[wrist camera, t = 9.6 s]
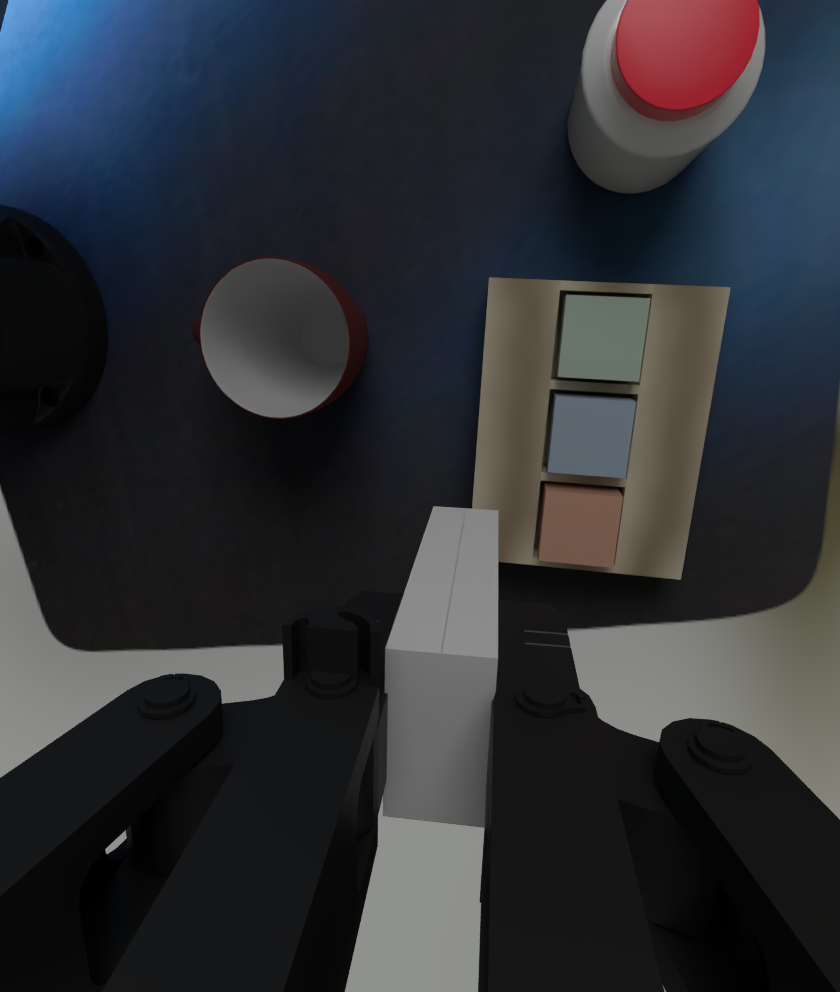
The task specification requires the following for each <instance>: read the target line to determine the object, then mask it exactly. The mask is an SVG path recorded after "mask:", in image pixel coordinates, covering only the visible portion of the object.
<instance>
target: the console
mask: <svg viewBox="0 0 840 992" xmlns="http://www.w3.org/2000/svg"><path fill="white" fill-rule="evenodd" d="M730 288H731V287H709V286H684V285H660V284H635V283H611V282H586V281H562V280H537V279H513V278H489V287H488V300H487V314H486V327H485V341H484V354H483V368H482V382H481V395H480V409H479V422H478V436H477V449H476V463H475V477H474V490H473V504H472V509H484V510H498V562H506V563H516V564H527V565H537V566H547V567H557V568H567V569H577V570H587V571H598V572H608V573H618V574H628V575H638V576H648V577H658V578H669V579H679V580H681V575H682V570H683V564H684V558H685V552H686V546H687V540H688V534H689V528H690V523H691V517H692V511H693V505H694V499H695V493H696V487H697V481H698V476H699V470H700V464H701V458H702V452H703V446H704V440H705V434H706V429H707V423H708V417H709V411H710V405H711V399H712V393H713V387H714V382H715V376H716V370H717V364H718V358H719V352H720V346H721V341H722V335H723V329H724V323H725V317H726V311H727V305H728V299H729V294H730ZM565 295H586V296H609V297H632V298H651V299H650V306H649V313H648V320H647V327H646V335H645V342H644V349H643V356H642V363H641V371H640V378H639V382H635V381H618V380H602V379H585V378H568V377H558V376H557V375H556V374H555V367H556V357H557V348H558V338H559V328H560V319H561V309H562V299H563V297H564V296H565ZM553 391H554V392H570V393H586V394H602V395H618V396H628V397H629V398H631V399H633V400H634V401H636V407H635V414H634V421H633V428H632V435H631V443H630V450H629V457H628V464H627V471H626V479H625V478H612V477H600V476H587V475H575V474H562V473H550V472H548V471H547V466H546V454H547V444H548V434H549V425H550V415H551V406H552V396H553ZM544 481H556V482H568V483H580V484H592V485H605V486H616V487H617V488H618V490H619V491H620V493H621V495H622V496H623V500H622V508H621V515H620V522H619V529H618V536H617V544H616V551H615V558H614V565H613V568H609V567H599V566H589V565H578V564H568V563H558V562H548V561H539V560H538V549H537V541H538V531H539V521H540V512H541V502H542V492H543V483H544Z"/></svg>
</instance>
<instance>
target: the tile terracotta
mask: <svg viewBox="0 0 840 992" xmlns="http://www.w3.org/2000/svg"><path fill="white" fill-rule="evenodd" d="M622 500H623V496H622V495H621V493H620V491H619V490H618V488H617V487H616V486H605V485H592V484H580V483H568V482H556V481H544V483H543V492H542V502H541V512H540V521H539V531H538V541H537V549H538V560H539V561H548V562H558V563H568V564H578V565H589V566H599V567H609V568H613V565H614V558H615V551H616V544H617V536H618V529H619V522H620V515H621V508H622Z"/></svg>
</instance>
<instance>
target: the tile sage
mask: <svg viewBox="0 0 840 992" xmlns="http://www.w3.org/2000/svg"><path fill="white" fill-rule="evenodd" d="M650 299H651V298H632V297H609V296H586V295H565V296H564V297H563V299H562V309H561V319H560V328H559V338H558V348H557V357H556V367H555V374H556V375H557V376H558V377H568V378H585V379H602V380H618V381H635V382H639V378H640V371H641V363H642V356H643V349H644V342H645V335H646V327H647V320H648V313H649V306H650Z"/></svg>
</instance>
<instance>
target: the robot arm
mask: <svg viewBox="0 0 840 992" xmlns="http://www.w3.org/2000/svg"><path fill="white" fill-rule="evenodd" d="M7 4H8V0H0V30H1V27H2V23H3V19H4V15H5V12H6V8H7ZM106 348H107V326H106V318H105V312H104V307H103V303H102V300H101V296H100V293H99V291H98V288H97V285H96V283H95V281H94V279H93V277H92V275H91V273H90V271H89V269H88V267H87V266H86V264H85V262H84V261H83V259H82V258H81V256H80V255H79V254H78V252H77V251H76V250H75V249H74V247H73V246H72V245H71V244H70V243H69V242H68V241H67V240H66V239H65V238H64V237H63V236H62V235H61V234H60V233H59V232H58V231H57V230H55V229H54V228H53V227H52V226H50V225H49V224H47V223H46V222H44V221H43V220H41V219H40V218H38V217H36V216H34V215H32V214H30V213H27V212H25V211H23V210H20V209H17V208H13V207H9V206H5V205H0V433H12V432H22V431H27V430H32V429H36V428H41V427H46V426H49V425H52V424H55V423H57V422H60V421H62V420H64V419H66V418H67V417H69V416H70V415H72V414H73V413H74V412H75V411H77V410H78V409H79V408H80V407H81V406H82V405H83V404H84V403H85V401H86V400H87V399H88V398H89V396H90V395H91V393H92V392H93V390H94V388H95V386H96V385H97V383H98V380H99V378H100V375H101V372H102V369H103V366H104V361H105V356H106ZM282 633H283V658H284V659H283V660H284V680H283V682H282V684H281V686H280V688H279V689H278V691H277V692H276V694H275V696H272V697H268V698H263V699H259V700H253V701H243V702H233V703H225V704H222V702H221V690H220V689H219V687H218V686H217V685H216V683H215V682H214V681H212V680H210V679H208V678H205V677H203V676H200V675H192V674H175V675H173V674H169V675H163V676H160V677H158V678H154V679H151V680H147V681H144V682H142V683H141V684H138V685H137V686H135V687H133V688H131V689H129V690H127V691H126V692H124V693H123V694H121V695H120V696H118V697H117V698H116V699H114V700H113V701H111V702H110V703H108V704H107V705H105V706H104V707H102V708H101V709H100V710H99V711H97V712H95V713H94V714H92V715H91V716H90V717H88V718H87V719H85V720H84V721H82V722H81V723H79V724H78V725H76V726H75V727H74V728H72V729H71V730H69V731H68V732H66V733H65V734H63V735H62V736H61V737H59V738H58V739H56V740H55V741H53V742H52V743H50V744H49V745H47V746H46V747H45V748H43V749H42V750H40V751H39V752H37V753H36V754H34V755H33V756H32V757H30V758H29V759H27V760H26V761H25V762H23V763H22V764H20V765H19V766H17V767H16V768H14V769H13V770H11V771H10V772H8V773H7V774H5V775H4V776H3V777H1V778H0V992H345V988H346V983H347V978H348V975H349V970H350V966H351V961H352V957H353V952H354V948H355V943H356V939H357V934H358V930H359V926H360V921H361V917H362V912H363V908H364V903H365V899H366V894H367V890H368V886H369V881H370V877H371V872H372V868H373V863H374V858H375V855H376V850H377V846H378V845H377V844H378V813H379V809H380V805H381V801H382V796H383V816H388V817H397V818H405V819H414V820H423V821H431V822H440V823H449V824H458V825H467V826H475V827H484V828H485V831H484V846H483V860H482V875H481V891H480V902H481V923H480V955H479V983H478V984H479V985H478V992H664V988H665V990H666V992H840V820H839V819H838V818H837V816H836V815H834V813H833V812H832V811H831V810H830V809H829V808H828V807H827V806H826V805H825V804H824V803H823V802H822V801H821V800H820V799H819V798H818V797H817V796H816V795H815V794H814V793H813V792H812V791H811V790H810V789H809V788H808V787H807V786H806V785H805V784H804V783H803V782H802V781H801V780H800V779H799V778H798V777H797V776H796V775H795V774H794V772H793V771H792V770H791V769H790V768H789V767H788V766H787V765H786V764H785V763H784V762H783V761H782V760H781V759H780V758H779V757H778V756H777V755H776V754H775V753H774V752H773V751H772V750H771V749H770V748H768V747H767V746H766V745H765V744H763V743H762V742H761V741H759V740H758V739H757V738H756V737H754V736H752V735H750V734H748V733H746V732H744V731H742V730H740V729H738V728H736V727H734V726H732V725H729V724H726V723H723V722H722V723H720V722H719V721H714V720H707V719H693V718H689V719H683V720H679V721H674V722H672V723H670V724H669V725H668V726H666V727H665V728H664V729H662V732H661V737H660V742H656V741H652V740H649V739H646V738H642V737H639V736H636V735H633V734H630V733H627V732H624V731H622V730H619V729H617V728H615V727H613V726H611V725H609V724H607V723H605V722H604V721H602V720H601V719H600V718H598V715H597V711H596V707H595V705H594V704H593V702H592V700H591V698H590V697H589V695H587V694H586V693H585V692H584V691H582V690H581V689H580V688H579V683H578V678H577V674H576V669H575V664H574V660H573V655H572V650H571V648H570V642H569V637H568V635H567V633H568V632H567V627H566V623H565V618H564V616H563V615H562V614H561V613H560V612H559V611H557V610H556V609H555V608H554V607H553V606H552V605H551V604H550V603H539V602H525V601H512V600H499V599H498V510H484V509H468V508H451V507H435V506H434V507H433V510H432V513H431V516H430V519H429V522H428V524H427V527H426V530H425V533H424V536H423V539H422V542H421V545H420V548H419V551H418V554H417V557H416V560H415V563H414V566H413V569H412V571H411V574H410V577H409V580H408V583H407V586H406V589H405V592H404V594H394V593H380V592H367V591H362V592H361V593H359V594H357V595H356V596H354V597H353V598H351V599H350V600H348V601H347V602H345V604H344V606H343V607H322V608H316V609H311V610H306V611H304V612H301V613H299V614H297V615H294V616H292V617H291V618H289V619H288V620H287V621H286V622H285V623H284V624H283V625H282ZM125 830H126V836H127V839H126V840H125V841H124V842H123V843H122V844H120V845H119V846H118V848H116V849H115V850H113V851H112V852H110V853H109V854H106V852H105V849H106V848H107V847H108V846H109V845H110V844H111V843H112V842H113V841H114V840H115V839H116V838H117V837H119V836H120V835H121V834H122V833H123V832H124V831H125ZM663 986H664V988H663Z"/></svg>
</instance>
